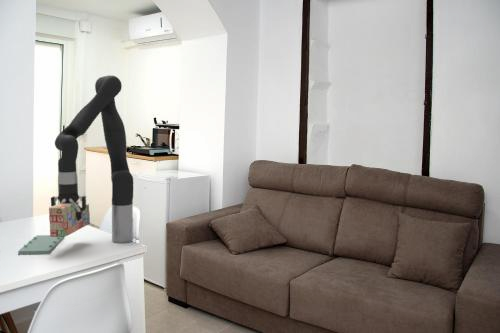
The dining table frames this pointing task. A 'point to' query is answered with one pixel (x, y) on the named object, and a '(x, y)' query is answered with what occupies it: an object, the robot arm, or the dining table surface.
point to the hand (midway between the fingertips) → (69, 220)
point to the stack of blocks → (67, 219)
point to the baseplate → (40, 245)
